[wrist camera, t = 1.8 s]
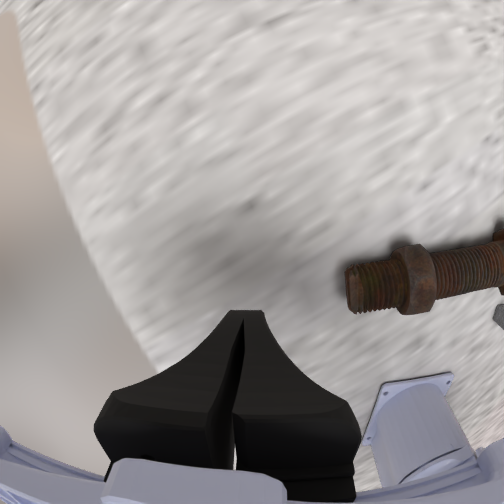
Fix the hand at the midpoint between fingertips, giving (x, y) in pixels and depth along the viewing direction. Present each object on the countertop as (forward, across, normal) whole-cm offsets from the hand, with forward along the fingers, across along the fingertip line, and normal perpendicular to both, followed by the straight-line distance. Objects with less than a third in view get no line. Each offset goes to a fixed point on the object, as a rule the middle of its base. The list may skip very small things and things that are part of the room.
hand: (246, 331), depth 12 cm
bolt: (+9, -13, +1) cm, 16 cm away
